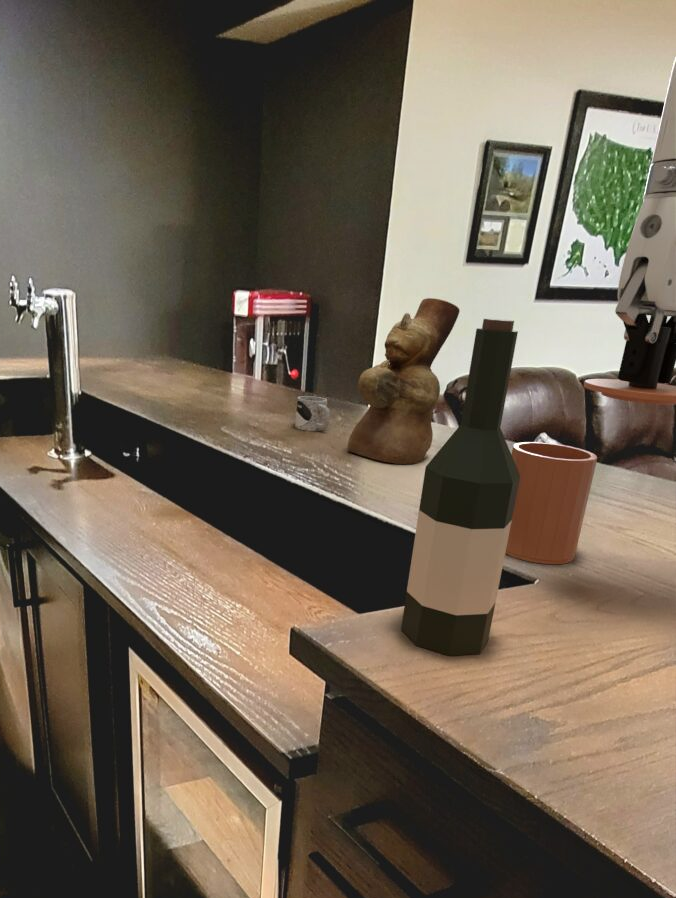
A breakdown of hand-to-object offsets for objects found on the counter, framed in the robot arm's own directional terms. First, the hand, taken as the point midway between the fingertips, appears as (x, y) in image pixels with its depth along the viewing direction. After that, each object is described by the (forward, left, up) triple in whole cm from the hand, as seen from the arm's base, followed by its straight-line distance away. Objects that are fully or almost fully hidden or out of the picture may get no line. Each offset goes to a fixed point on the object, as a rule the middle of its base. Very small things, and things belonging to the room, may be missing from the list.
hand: (643, 380), depth 74 cm
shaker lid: (0, 0, -1) cm, 1 cm away
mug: (+23, -86, -25) cm, 92 cm away
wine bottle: (+20, +11, -25) cm, 34 cm away
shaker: (+1, -15, -24) cm, 28 cm away
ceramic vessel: (+8, -67, -25) cm, 71 cm away
